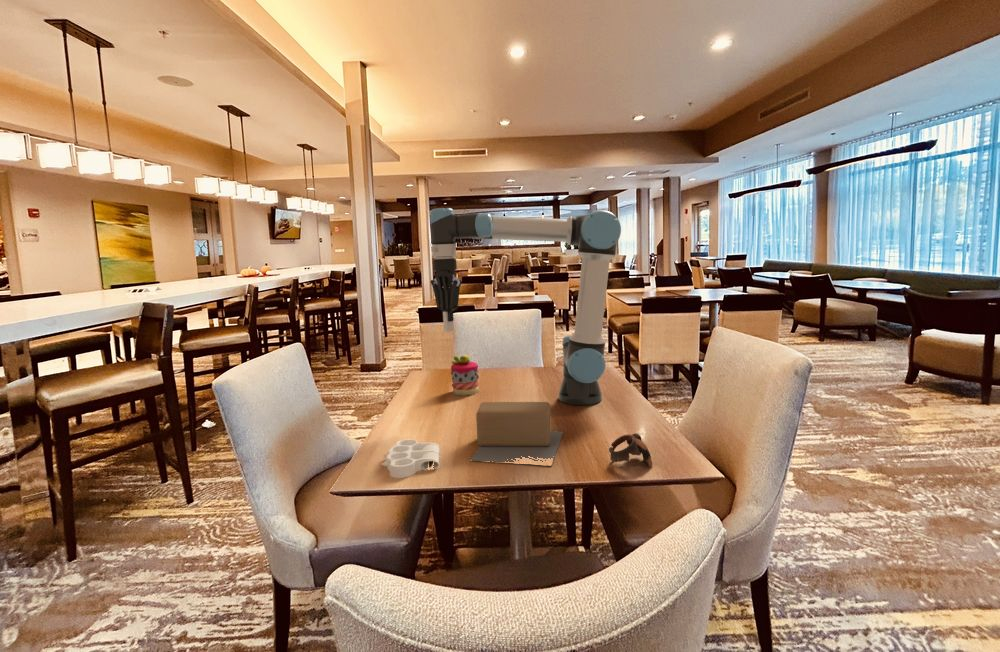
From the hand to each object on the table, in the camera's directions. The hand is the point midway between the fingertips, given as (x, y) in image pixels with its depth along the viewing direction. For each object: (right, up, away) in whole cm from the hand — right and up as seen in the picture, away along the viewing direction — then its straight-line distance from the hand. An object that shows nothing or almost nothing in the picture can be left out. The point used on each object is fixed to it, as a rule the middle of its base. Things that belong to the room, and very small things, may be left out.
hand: (448, 331), depth 165 cm
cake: (+4, -24, +30) cm, 39 cm away
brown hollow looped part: (+50, -33, -39) cm, 71 cm away
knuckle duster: (-6, -34, -34) cm, 48 cm away
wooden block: (+11, -26, -22) cm, 36 cm away
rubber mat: (+22, -31, -26) cm, 46 cm away
